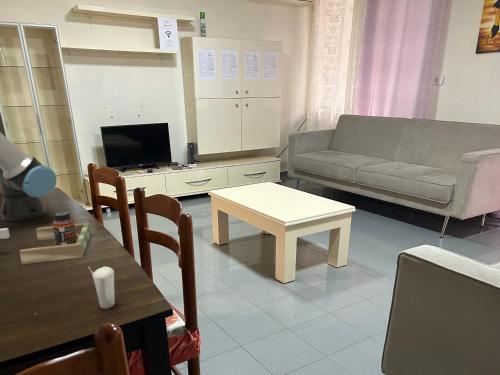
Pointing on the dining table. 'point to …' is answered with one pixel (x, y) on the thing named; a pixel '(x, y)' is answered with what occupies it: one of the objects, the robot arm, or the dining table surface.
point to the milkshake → (104, 286)
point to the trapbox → (60, 250)
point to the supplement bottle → (64, 229)
